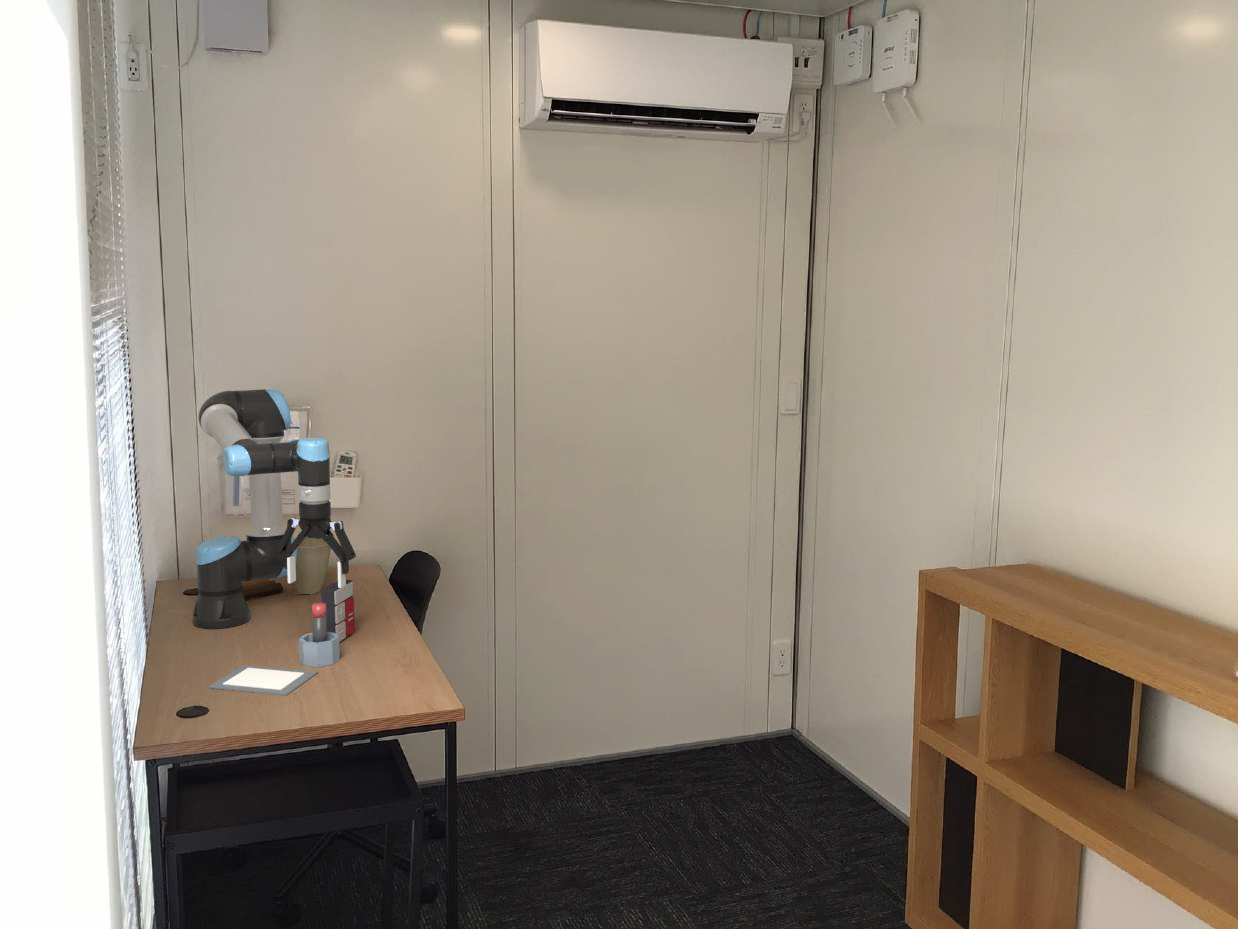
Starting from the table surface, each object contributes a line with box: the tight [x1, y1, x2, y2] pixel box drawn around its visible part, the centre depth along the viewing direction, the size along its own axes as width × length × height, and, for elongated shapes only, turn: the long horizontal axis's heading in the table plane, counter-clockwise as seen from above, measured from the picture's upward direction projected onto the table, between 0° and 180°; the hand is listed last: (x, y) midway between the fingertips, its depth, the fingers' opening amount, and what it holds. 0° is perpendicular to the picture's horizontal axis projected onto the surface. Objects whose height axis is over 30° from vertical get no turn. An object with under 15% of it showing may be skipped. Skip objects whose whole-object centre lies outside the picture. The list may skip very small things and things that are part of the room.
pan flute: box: [242, 579, 284, 601], centre depth 320 cm, size 25×3×25 cm
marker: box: [311, 601, 327, 643], centre depth 260 cm, size 3×3×14 cm
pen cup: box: [298, 632, 341, 668], centre depth 261 cm, size 9×9×6 cm
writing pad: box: [207, 664, 319, 697], centre depth 247 cm, size 20×15×1 cm
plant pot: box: [291, 537, 332, 595], centre depth 321 cm, size 15×15×16 cm
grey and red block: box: [320, 579, 356, 643], centre depth 277 cm, size 11×4×15 cm, turn 168°
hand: (316, 584), depth 259 cm, fingers open, 13 cm apart
